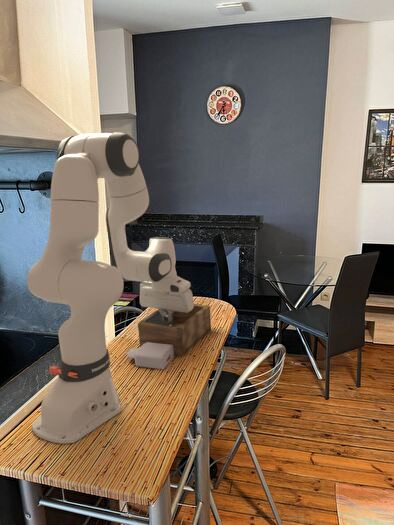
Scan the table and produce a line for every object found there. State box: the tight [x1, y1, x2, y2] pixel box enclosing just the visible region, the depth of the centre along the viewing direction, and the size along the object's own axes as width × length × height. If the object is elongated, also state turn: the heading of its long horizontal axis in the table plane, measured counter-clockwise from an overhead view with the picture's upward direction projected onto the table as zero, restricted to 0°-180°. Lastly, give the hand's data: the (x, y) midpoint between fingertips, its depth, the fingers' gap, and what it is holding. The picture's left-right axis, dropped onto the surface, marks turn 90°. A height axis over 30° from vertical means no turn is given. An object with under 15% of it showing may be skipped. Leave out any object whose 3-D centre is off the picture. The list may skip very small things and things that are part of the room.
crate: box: [137, 303, 212, 358], centre depth 139 cm, size 22×16×10 cm
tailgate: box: [140, 309, 173, 326], centre depth 142 cm, size 18×1×8 cm, turn 153°
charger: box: [123, 342, 175, 370], centre depth 126 cm, size 5×9×15 cm
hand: (167, 320), depth 140 cm, fingers closed
